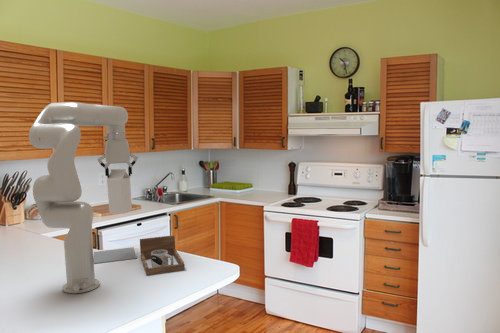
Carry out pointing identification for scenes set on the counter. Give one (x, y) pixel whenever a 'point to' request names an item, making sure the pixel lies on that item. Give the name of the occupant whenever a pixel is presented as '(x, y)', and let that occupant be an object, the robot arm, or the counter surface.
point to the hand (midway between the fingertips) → (119, 176)
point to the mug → (160, 258)
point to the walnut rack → (160, 244)
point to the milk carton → (119, 191)
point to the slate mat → (114, 255)
